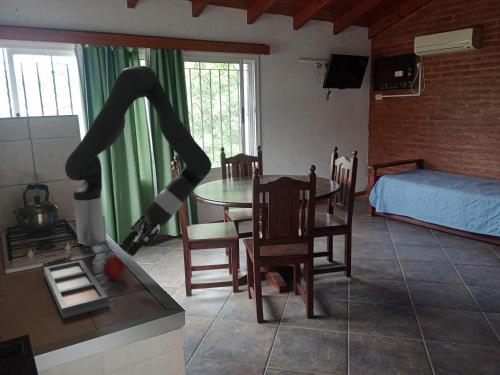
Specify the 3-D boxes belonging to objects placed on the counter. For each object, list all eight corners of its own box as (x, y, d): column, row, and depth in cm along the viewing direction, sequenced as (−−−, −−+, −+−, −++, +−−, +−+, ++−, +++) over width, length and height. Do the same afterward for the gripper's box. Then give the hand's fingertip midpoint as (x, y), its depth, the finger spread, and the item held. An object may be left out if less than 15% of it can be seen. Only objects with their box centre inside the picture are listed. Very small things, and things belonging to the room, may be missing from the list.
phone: (41, 268, 126) (46, 252, 140) (42, 272, 127) (46, 255, 140) (69, 265, 129) (71, 249, 143) (69, 268, 129) (71, 252, 143)
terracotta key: (61, 297, 107) (61, 295, 107) (93, 289, 111) (93, 288, 111) (67, 309, 100) (67, 308, 100) (101, 301, 105) (101, 299, 104)
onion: (106, 285, 116) (103, 259, 115) (103, 278, 121) (101, 252, 120) (126, 281, 119) (125, 255, 117) (123, 274, 124) (121, 249, 122)
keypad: (44, 275, 123) (43, 267, 123) (82, 267, 129) (81, 259, 129) (62, 318, 98) (61, 308, 98) (108, 306, 104) (108, 296, 104)
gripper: (149, 194, 127) (113, 235, 125) (160, 204, 115) (121, 249, 112) (166, 209, 131) (132, 248, 128) (179, 220, 118) (141, 264, 115)
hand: (127, 249), depth 120 cm, fingers open, 8 cm apart
